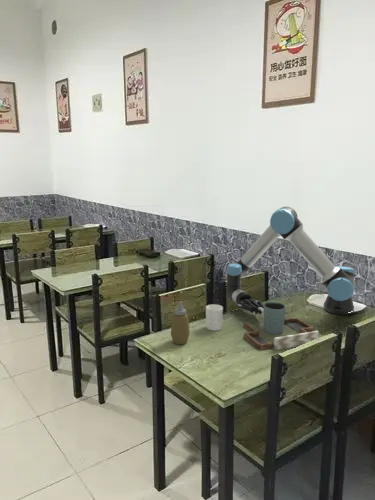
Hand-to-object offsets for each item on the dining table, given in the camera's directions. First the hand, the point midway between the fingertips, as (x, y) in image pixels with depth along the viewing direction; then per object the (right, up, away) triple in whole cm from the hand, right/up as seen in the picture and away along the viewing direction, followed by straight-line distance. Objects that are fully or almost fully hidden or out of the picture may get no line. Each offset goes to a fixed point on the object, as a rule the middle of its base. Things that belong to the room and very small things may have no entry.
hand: (266, 314), depth 194 cm
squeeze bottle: (-40, -9, -17) cm, 44 cm away
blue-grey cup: (+2, -7, -3) cm, 8 cm away
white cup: (-25, -6, -1) cm, 25 cm away
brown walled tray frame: (+4, -8, -7) cm, 11 cm away
